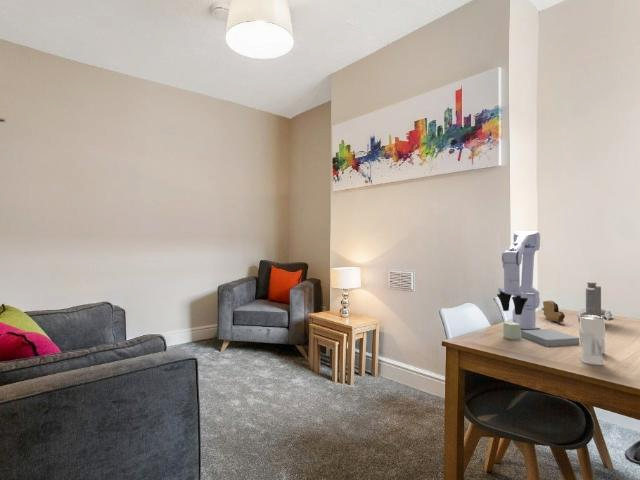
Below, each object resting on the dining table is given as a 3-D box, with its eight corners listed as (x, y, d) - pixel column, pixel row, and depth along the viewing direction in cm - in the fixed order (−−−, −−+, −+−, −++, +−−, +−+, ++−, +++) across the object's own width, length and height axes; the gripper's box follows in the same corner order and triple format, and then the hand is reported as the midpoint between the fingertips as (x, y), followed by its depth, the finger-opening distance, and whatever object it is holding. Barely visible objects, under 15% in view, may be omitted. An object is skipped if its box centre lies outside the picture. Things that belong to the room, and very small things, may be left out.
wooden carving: (569, 325, 170) (568, 303, 170) (559, 325, 170) (559, 304, 170) (547, 317, 186) (547, 298, 186) (538, 317, 186) (538, 298, 186)
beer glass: (573, 359, 124) (573, 315, 124) (593, 358, 124) (592, 314, 124) (590, 366, 117) (590, 319, 117) (610, 365, 117) (610, 319, 117)
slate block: (521, 337, 152) (521, 330, 152) (550, 335, 154) (550, 328, 154) (547, 347, 138) (547, 339, 138) (579, 345, 140) (579, 337, 140)
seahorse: (598, 322, 171) (617, 311, 181) (572, 310, 180) (592, 300, 190) (595, 331, 173) (614, 319, 183) (569, 318, 182) (588, 308, 192)
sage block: (503, 336, 152) (503, 322, 152) (513, 336, 153) (513, 321, 153) (510, 339, 148) (510, 325, 148) (520, 339, 148) (520, 324, 148)
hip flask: (593, 328, 163) (593, 284, 163) (582, 326, 167) (582, 283, 166) (601, 322, 174) (601, 281, 174) (591, 321, 177) (591, 280, 177)
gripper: (491, 278, 156) (492, 309, 157) (515, 282, 142) (515, 316, 142) (506, 277, 158) (506, 308, 158) (531, 281, 143) (531, 316, 143)
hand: (511, 312), depth 150 cm, fingers open, 7 cm apart
